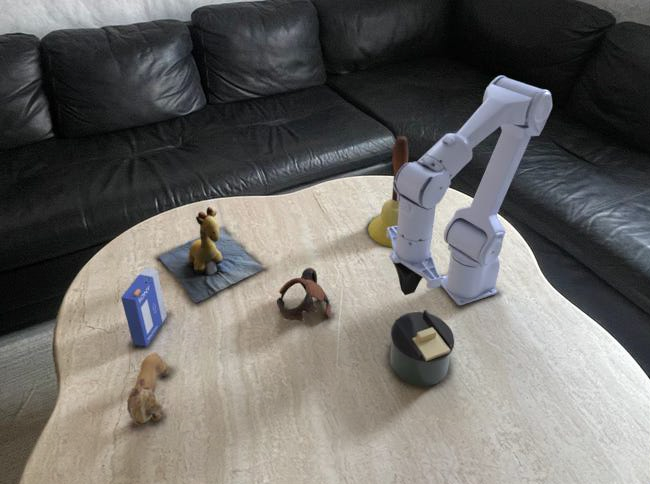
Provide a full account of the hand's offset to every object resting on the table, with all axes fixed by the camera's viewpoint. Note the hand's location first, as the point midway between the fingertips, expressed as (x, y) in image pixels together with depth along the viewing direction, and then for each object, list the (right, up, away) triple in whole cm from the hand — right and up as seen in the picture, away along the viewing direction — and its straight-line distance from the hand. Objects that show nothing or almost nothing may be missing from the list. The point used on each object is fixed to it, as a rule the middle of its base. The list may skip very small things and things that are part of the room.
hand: (408, 291), depth 91 cm
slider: (+3, -7, -6) cm, 10 cm away
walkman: (-48, -9, +5) cm, 49 cm away
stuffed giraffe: (-40, 0, +21) cm, 45 cm away
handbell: (+2, +6, +31) cm, 32 cm away
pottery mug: (-18, -6, +10) cm, 22 cm away
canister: (+2, -12, -1) cm, 12 cm away
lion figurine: (-43, -16, -8) cm, 46 cm away
